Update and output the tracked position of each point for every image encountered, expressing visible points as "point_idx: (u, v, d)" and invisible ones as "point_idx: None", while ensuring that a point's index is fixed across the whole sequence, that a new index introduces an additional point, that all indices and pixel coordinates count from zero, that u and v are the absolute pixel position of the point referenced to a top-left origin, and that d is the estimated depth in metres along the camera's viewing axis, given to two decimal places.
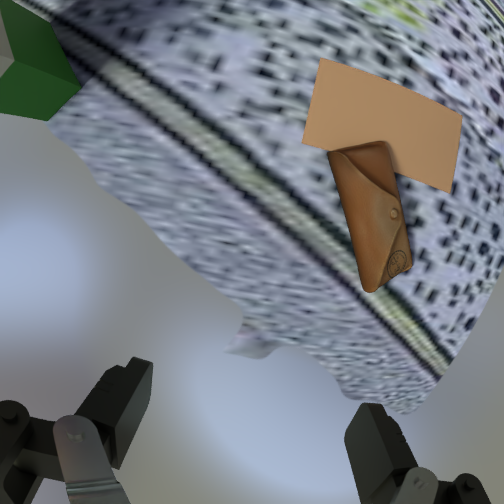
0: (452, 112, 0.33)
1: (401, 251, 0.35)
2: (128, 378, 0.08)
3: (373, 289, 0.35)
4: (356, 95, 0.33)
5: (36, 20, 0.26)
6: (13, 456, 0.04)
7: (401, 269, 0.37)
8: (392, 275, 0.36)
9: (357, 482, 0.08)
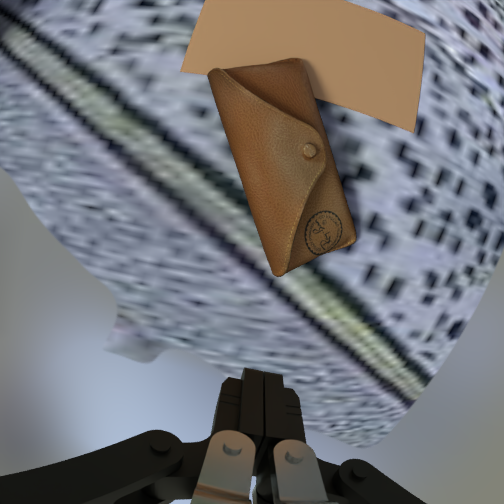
0: (409, 28, 0.21)
1: (330, 212, 0.24)
2: (252, 388, 0.10)
3: (281, 271, 0.24)
4: (260, 8, 0.22)
5: None
6: (143, 484, 0.05)
7: (334, 242, 0.25)
8: (317, 250, 0.25)
9: None
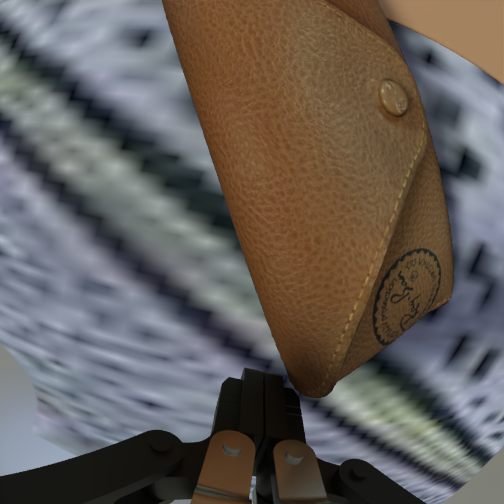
0: None
1: (426, 252, 0.09)
2: (252, 388, 0.10)
3: (314, 392, 0.09)
4: None
5: None
6: (143, 484, 0.05)
7: (422, 312, 0.10)
8: (391, 337, 0.10)
9: None
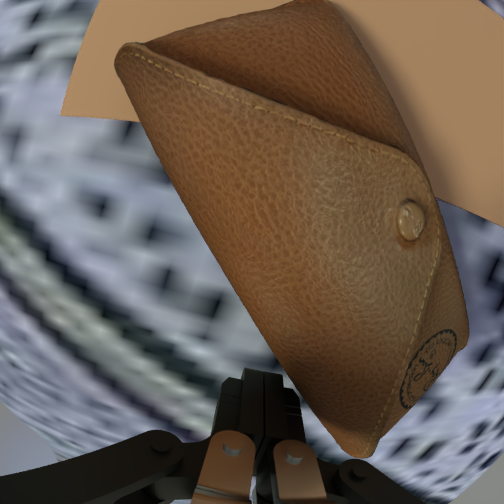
0: None
1: (443, 332, 0.10)
2: (252, 388, 0.10)
3: (358, 456, 0.10)
4: None
5: None
6: (143, 484, 0.05)
7: (442, 370, 0.11)
8: (417, 400, 0.10)
9: None
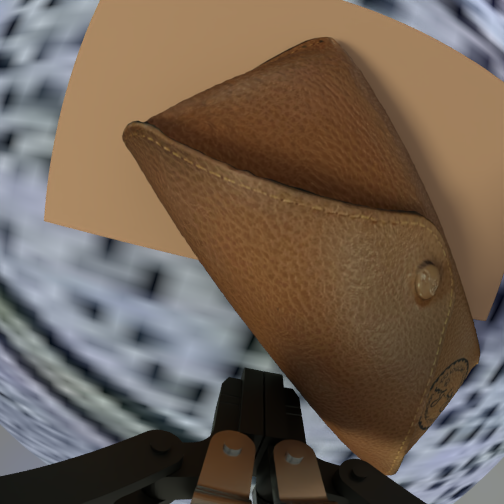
0: None
1: (456, 362, 0.10)
2: (252, 388, 0.10)
3: (383, 473, 0.10)
4: (193, 46, 0.10)
5: None
6: (143, 484, 0.05)
7: (456, 391, 0.11)
8: (434, 420, 0.11)
9: None
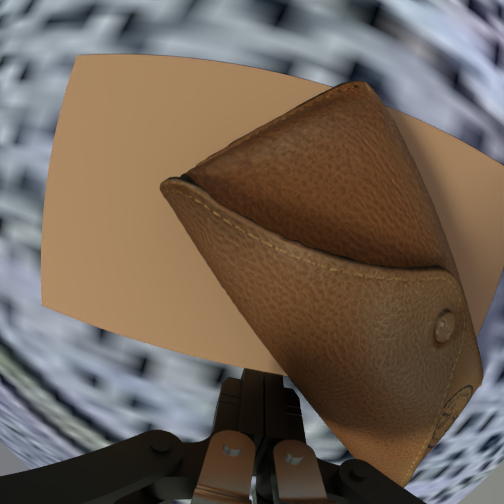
0: (502, 171, 0.10)
1: (462, 389, 0.11)
2: (252, 388, 0.10)
3: None
4: (163, 149, 0.11)
5: None
6: (143, 484, 0.05)
7: (460, 412, 0.12)
8: (439, 439, 0.11)
9: None
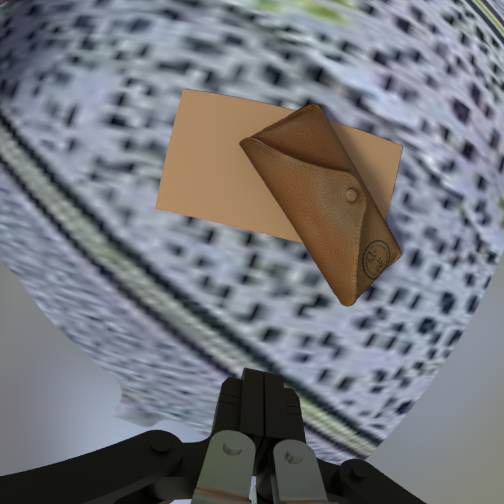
0: (385, 142, 0.27)
1: (378, 241, 0.27)
2: (251, 388, 0.10)
3: (351, 302, 0.27)
4: (228, 135, 0.27)
5: None
6: (143, 484, 0.05)
7: (386, 263, 0.28)
8: (374, 275, 0.27)
9: None
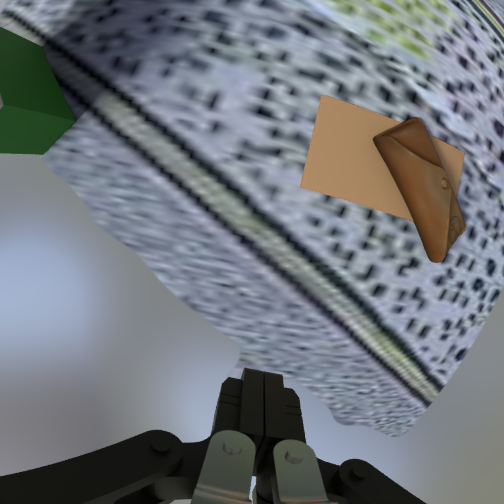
0: (454, 149, 0.34)
1: (456, 217, 0.34)
2: (252, 388, 0.10)
3: (441, 258, 0.34)
4: (357, 135, 0.34)
5: (27, 47, 0.27)
6: (143, 484, 0.05)
7: (458, 233, 0.35)
8: (453, 241, 0.34)
9: None
